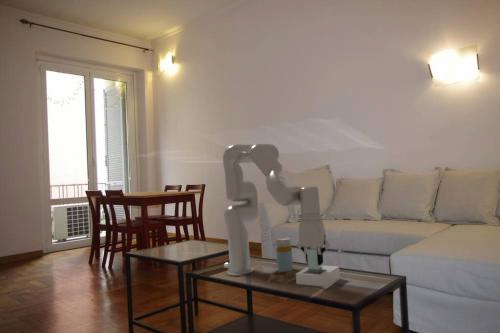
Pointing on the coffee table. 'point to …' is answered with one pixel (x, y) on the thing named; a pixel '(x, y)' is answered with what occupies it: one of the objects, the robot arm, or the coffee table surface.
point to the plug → (313, 261)
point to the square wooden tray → (280, 277)
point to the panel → (319, 277)
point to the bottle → (284, 255)
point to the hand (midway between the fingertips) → (314, 263)
